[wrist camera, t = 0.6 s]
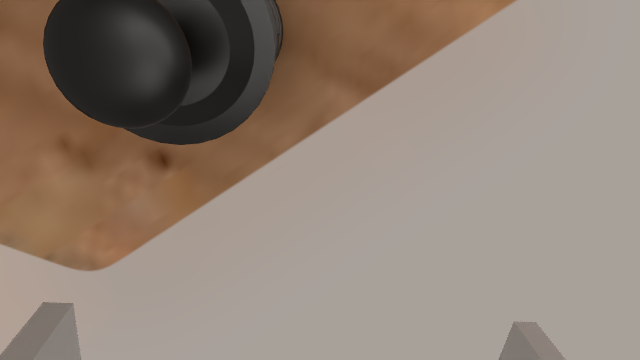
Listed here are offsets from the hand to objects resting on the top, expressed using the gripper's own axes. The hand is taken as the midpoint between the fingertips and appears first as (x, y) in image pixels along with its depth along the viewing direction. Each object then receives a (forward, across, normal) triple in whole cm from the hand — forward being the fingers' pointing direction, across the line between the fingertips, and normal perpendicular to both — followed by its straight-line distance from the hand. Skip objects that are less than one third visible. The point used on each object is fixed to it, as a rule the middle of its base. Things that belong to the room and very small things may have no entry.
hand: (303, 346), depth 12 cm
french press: (+26, -6, +7) cm, 28 cm away
